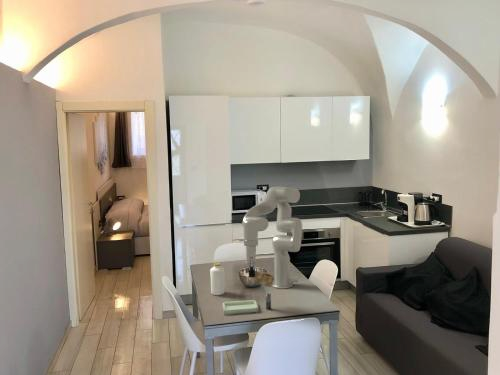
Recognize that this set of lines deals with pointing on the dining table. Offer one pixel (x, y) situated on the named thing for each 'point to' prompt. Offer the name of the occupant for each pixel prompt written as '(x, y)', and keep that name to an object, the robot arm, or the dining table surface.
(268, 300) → the steel stake
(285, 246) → the robot arm
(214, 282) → the potion bottle
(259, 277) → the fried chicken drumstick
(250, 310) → the sage tray
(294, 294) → the dining table surface
